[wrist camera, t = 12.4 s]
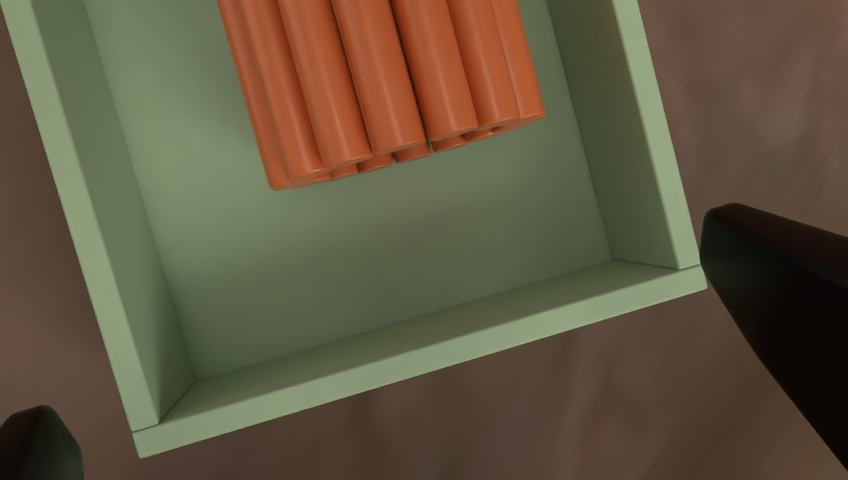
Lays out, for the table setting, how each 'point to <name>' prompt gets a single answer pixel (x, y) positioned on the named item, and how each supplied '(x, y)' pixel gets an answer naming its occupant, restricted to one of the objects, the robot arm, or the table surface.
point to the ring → (376, 80)
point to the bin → (339, 216)
